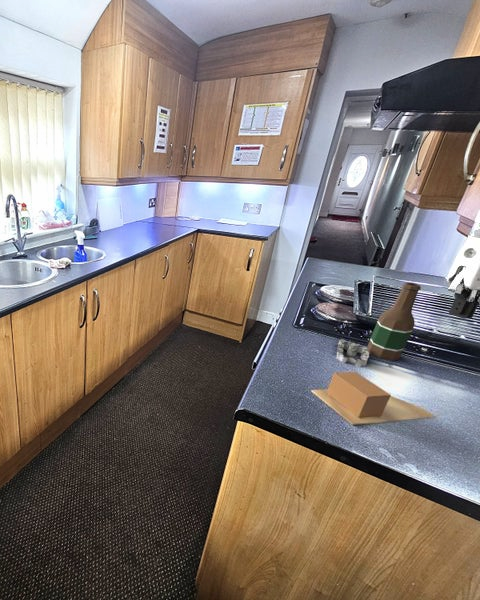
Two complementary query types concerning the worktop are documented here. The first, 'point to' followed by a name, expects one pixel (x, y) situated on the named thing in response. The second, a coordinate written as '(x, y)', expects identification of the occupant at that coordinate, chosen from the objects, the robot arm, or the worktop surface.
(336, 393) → the box
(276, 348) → the worktop surface
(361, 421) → the board
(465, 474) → the worktop surface
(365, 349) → the egg carton
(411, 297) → the beer bottle
